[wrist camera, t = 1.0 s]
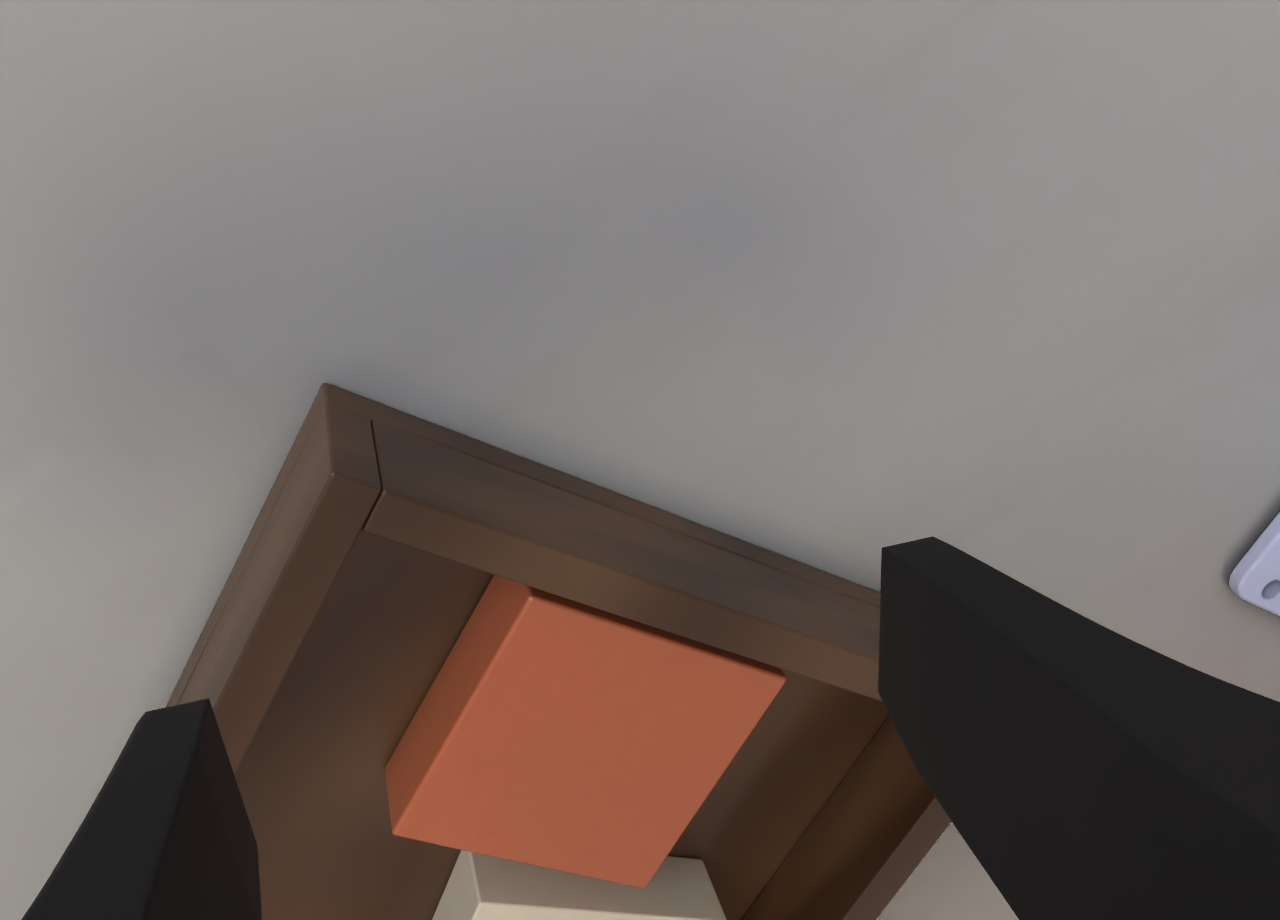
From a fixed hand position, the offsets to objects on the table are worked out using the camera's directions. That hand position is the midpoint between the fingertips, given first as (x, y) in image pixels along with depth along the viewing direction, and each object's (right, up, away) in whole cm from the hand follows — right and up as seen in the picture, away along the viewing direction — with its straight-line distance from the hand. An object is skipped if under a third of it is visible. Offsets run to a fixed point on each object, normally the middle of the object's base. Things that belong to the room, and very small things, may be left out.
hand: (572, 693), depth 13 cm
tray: (-2, -5, +13) cm, 14 cm away
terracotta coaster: (-1, -2, +11) cm, 11 cm away
